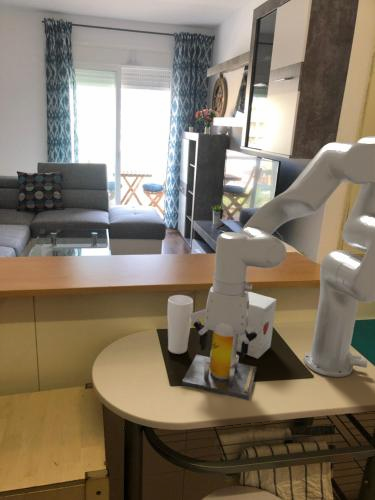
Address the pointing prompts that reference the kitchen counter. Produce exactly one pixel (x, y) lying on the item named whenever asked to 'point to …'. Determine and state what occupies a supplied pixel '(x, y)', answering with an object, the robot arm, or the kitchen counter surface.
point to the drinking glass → (179, 322)
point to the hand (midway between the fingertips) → (223, 351)
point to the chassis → (233, 386)
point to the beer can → (223, 351)
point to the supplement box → (264, 315)
